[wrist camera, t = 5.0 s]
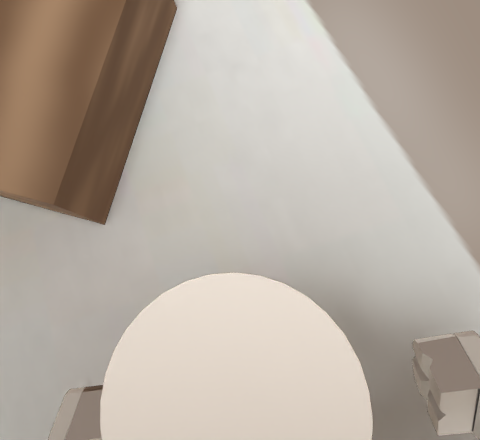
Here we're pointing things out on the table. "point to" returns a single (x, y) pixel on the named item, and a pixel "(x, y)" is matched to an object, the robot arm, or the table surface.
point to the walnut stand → (74, 96)
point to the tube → (234, 368)
